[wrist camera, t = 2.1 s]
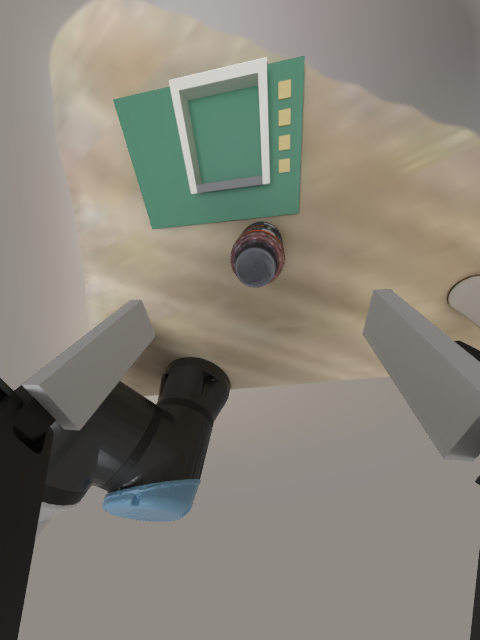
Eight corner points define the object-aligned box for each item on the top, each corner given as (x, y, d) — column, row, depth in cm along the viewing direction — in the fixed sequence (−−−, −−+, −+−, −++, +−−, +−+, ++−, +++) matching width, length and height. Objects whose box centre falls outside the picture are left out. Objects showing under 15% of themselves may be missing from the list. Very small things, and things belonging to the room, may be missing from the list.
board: (156, 227, 30) (143, 231, 27) (120, 103, 23) (96, 89, 20) (297, 212, 27) (301, 215, 23) (302, 62, 20) (308, 38, 17)
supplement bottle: (263, 210, 27) (259, 220, 17) (290, 245, 29) (300, 271, 19) (231, 242, 30) (212, 265, 20) (258, 272, 31) (253, 307, 22)
